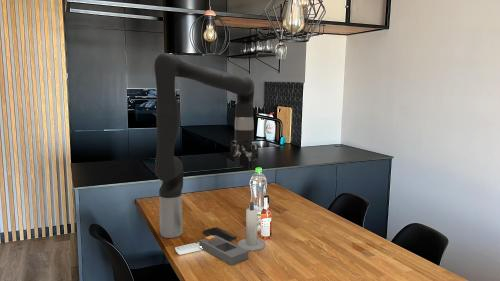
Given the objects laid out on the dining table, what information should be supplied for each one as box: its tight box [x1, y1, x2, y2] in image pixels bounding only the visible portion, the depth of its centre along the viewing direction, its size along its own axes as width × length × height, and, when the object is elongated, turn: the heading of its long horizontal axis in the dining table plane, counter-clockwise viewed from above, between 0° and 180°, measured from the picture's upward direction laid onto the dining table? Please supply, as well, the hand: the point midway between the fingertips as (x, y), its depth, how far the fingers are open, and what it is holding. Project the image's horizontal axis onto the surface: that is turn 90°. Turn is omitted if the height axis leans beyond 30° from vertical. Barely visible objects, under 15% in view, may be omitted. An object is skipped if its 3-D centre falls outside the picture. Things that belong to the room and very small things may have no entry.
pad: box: [237, 238, 266, 252], centre depth 158 cm, size 11×11×1 cm
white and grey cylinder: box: [245, 201, 258, 246], centre depth 157 cm, size 4×4×17 cm
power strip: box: [198, 235, 249, 266], centre depth 151 cm, size 20×8×4 cm, turn 42°
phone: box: [201, 226, 237, 242], centre depth 167 cm, size 8×1×15 cm
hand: (244, 167), depth 160 cm, fingers open, 8 cm apart
